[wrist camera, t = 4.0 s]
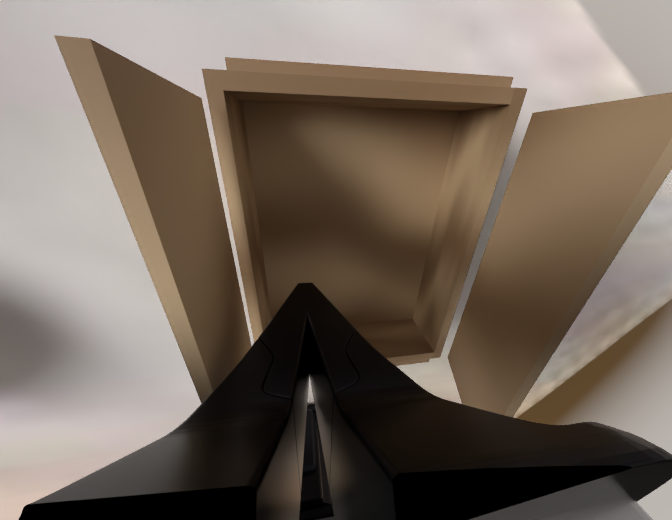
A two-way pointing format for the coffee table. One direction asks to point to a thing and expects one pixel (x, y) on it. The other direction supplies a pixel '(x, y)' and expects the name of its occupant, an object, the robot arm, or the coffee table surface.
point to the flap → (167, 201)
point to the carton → (360, 188)
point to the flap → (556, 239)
